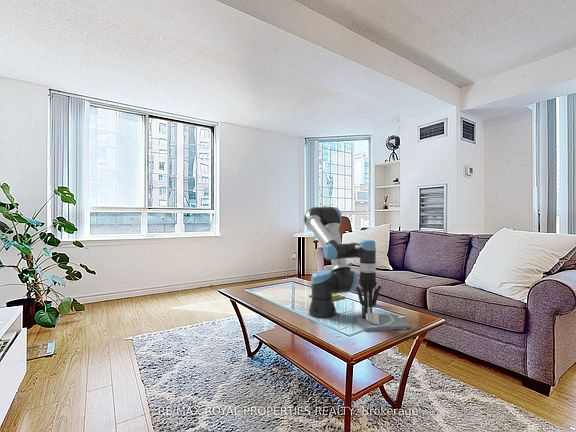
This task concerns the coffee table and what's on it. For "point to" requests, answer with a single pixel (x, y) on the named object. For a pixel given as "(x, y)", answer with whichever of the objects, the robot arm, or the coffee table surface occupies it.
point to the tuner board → (382, 323)
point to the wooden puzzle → (334, 296)
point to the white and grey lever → (371, 316)
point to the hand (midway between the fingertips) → (368, 319)
